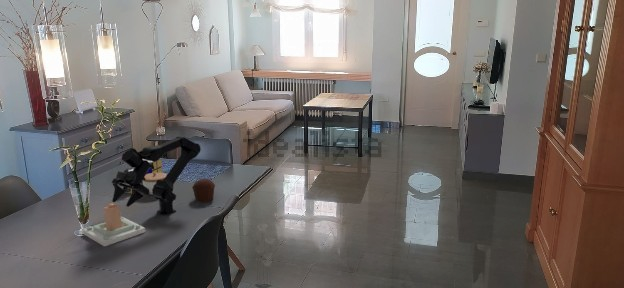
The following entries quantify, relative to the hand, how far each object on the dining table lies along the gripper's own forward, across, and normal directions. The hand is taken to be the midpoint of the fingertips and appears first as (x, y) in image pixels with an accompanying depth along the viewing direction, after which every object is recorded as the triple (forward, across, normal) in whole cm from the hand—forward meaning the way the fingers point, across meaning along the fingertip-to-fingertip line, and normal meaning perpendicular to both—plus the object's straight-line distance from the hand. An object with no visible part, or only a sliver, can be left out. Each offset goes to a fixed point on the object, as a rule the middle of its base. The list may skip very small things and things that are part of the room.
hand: (120, 204), depth 200 cm
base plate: (+11, 0, +5) cm, 12 cm away
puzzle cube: (-32, -52, +50) cm, 79 cm away
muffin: (-24, +2, +42) cm, 49 cm away
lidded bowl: (-20, -26, +37) cm, 49 cm away
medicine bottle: (-16, -39, +33) cm, 54 cm away
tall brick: (+10, 0, +4) cm, 11 cm away
